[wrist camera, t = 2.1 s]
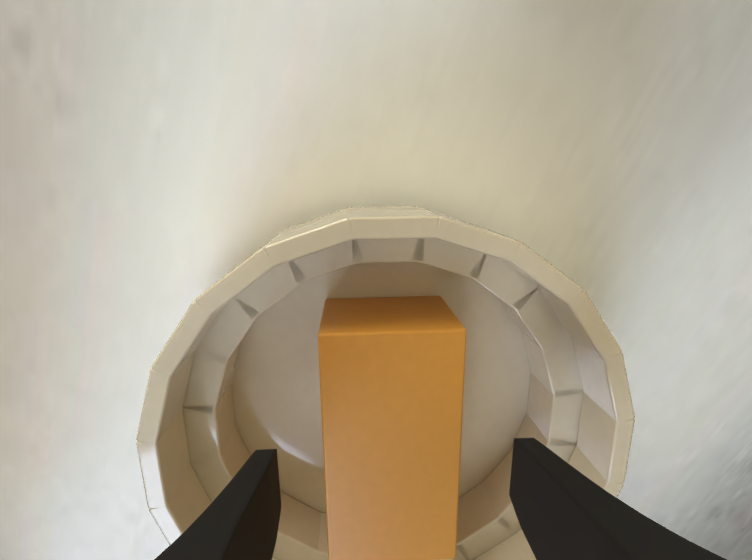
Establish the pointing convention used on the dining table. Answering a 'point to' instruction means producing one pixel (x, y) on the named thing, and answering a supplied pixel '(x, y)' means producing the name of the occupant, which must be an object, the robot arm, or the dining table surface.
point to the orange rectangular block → (391, 426)
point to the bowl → (302, 381)
